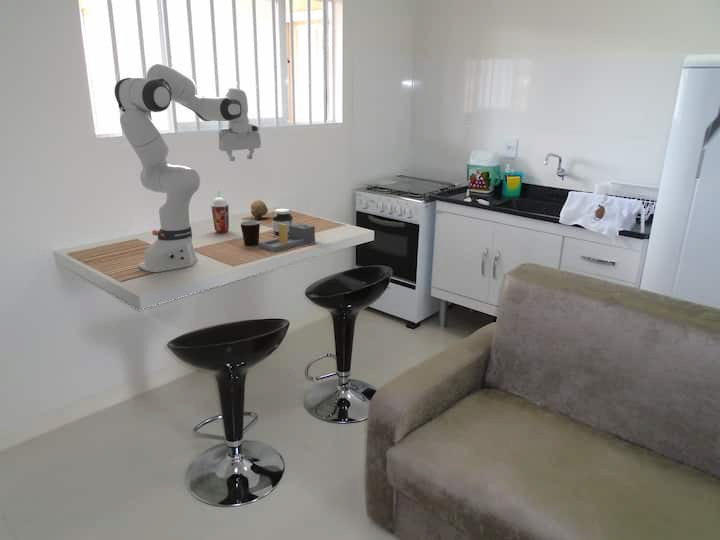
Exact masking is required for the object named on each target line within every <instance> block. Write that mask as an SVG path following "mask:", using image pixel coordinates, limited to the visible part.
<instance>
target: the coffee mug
mask: <svg viewBox="0 0 720 540" xmlns="http://www.w3.org/2000/svg"><path fill="white" fill-rule="evenodd" d="M260 223H261V222H260V221H258V220H244V221H241V222H240V229H241V233H242V239H243V244H244V246H246V247H255V246H259V245H260V228H261V227H260V226H261V224H260Z"/></svg>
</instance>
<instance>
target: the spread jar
mask: <svg viewBox="0 0 720 540" xmlns="http://www.w3.org/2000/svg"><path fill="white" fill-rule="evenodd" d="M274 210H275V212H274V213H275V214H274V215H273V217H272V231H273V232H274V234H275V235H278V236H279V223H281V224H285V225H287V232H288V235H289V225H293V224H294V217H293V216H292V214H291V213H290V209H288V208H277V209H274Z"/></svg>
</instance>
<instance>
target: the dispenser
mask: <svg viewBox="0 0 720 540" xmlns="http://www.w3.org/2000/svg"><path fill="white" fill-rule="evenodd" d="M315 231H316V230H315V225H311V224H305V223H302V222H298V223H293V225H289V234H288V243H285V244H282V243H279V237H278V238H273V239H270V240H266V241H262V242H259V248H260V249H264V250H268V251H270V252H273V253H274V252H279V250H280V251H283V250H287V249H289V247H291V248H294V247H293V246H295V247H297V246H301V245H305V244H309V243H313V242H316V232H315ZM286 248H287V249H286ZM282 249H283V250H282Z"/></svg>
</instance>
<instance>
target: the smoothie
mask: <svg viewBox="0 0 720 540" xmlns="http://www.w3.org/2000/svg"><path fill="white" fill-rule="evenodd" d="M217 193H218V194H217V196H216V197H215V198H214V199H213V200H212V202H211V204H210V206H211V207H210V208H211V214H212V219H213V227H214V230H215V232H216V233H217V234H223V233H228V232H229V229H230V223H229V221H230V219H229V218H230V217H229V215H230V213H229V212H230V211H229V210H230V209H229V203H228V201H227V200H226V199H225V198H224V197H222V196H221V194H220V191H217Z"/></svg>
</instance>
